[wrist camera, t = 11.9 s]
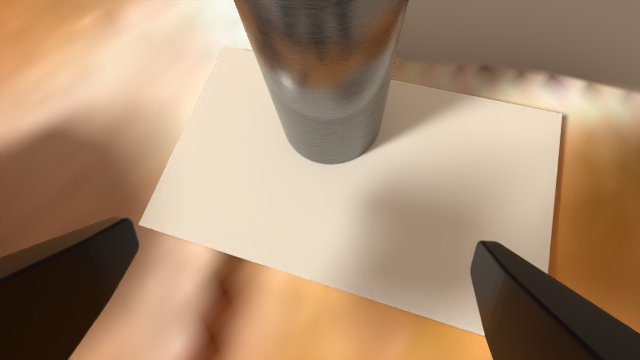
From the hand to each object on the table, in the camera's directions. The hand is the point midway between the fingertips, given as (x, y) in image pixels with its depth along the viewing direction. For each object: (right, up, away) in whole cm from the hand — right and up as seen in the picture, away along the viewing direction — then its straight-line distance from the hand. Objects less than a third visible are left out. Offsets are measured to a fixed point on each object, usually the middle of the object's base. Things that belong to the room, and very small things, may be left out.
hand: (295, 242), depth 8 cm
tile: (+2, +2, +10) cm, 10 cm away
